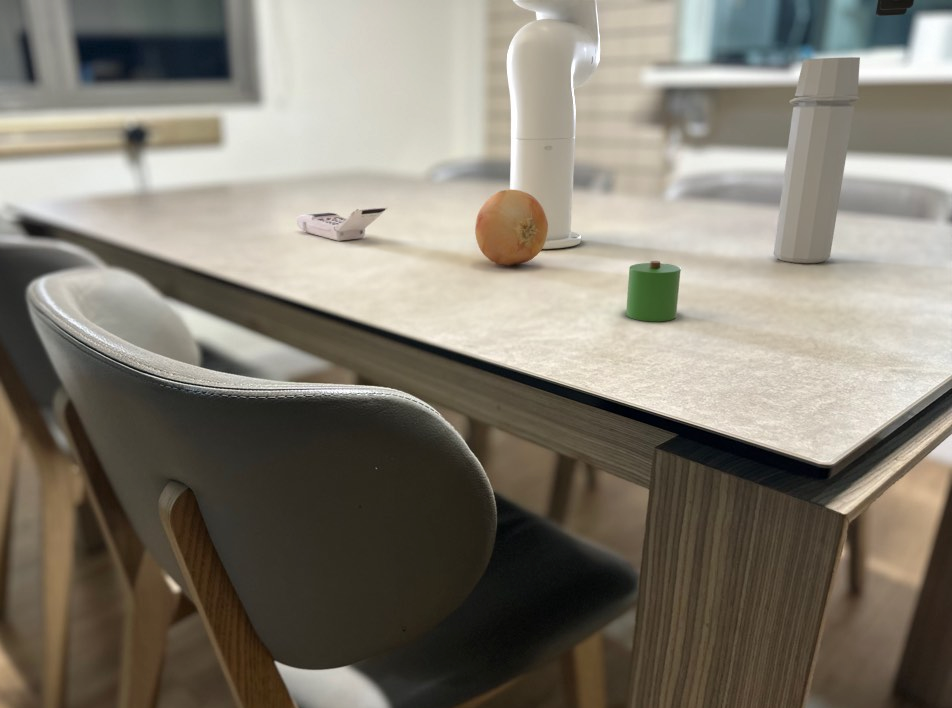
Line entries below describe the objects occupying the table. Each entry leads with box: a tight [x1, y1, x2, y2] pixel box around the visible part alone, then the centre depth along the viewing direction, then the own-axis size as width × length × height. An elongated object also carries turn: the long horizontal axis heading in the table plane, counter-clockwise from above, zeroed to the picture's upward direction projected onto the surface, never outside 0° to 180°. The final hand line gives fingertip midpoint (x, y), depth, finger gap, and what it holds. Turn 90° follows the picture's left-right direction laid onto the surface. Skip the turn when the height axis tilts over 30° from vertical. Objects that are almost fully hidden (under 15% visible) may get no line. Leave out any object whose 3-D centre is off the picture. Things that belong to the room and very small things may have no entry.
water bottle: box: [773, 56, 861, 264], centre depth 105 cm, size 9×8×25 cm
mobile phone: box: [296, 206, 389, 242], centre depth 136 cm, size 6×6×25 cm
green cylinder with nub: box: [625, 260, 681, 323], centre depth 83 cm, size 5×5×6 cm
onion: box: [474, 189, 548, 266], centre depth 108 cm, size 10×10×10 cm
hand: (893, 12), depth 94 cm, fingers open, 9 cm apart
